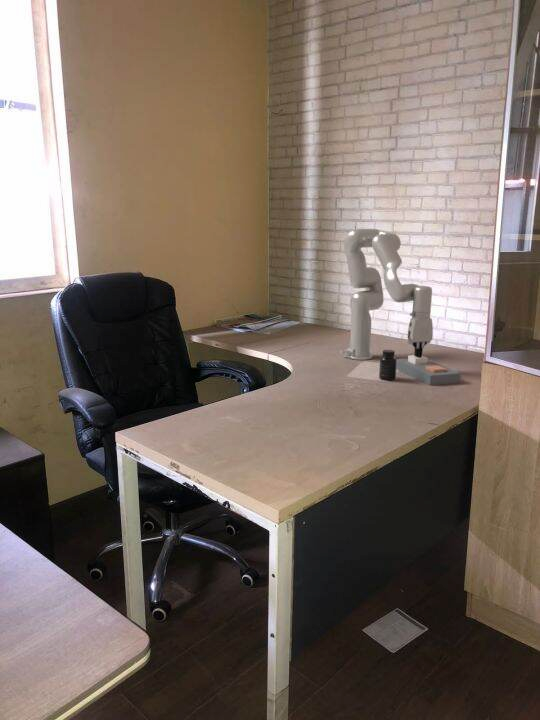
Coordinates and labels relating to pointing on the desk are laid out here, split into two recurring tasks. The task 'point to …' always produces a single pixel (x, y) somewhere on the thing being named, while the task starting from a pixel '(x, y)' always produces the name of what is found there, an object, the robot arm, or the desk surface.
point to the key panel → (428, 372)
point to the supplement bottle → (388, 366)
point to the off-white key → (417, 359)
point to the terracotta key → (435, 369)
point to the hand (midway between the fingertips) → (418, 356)
